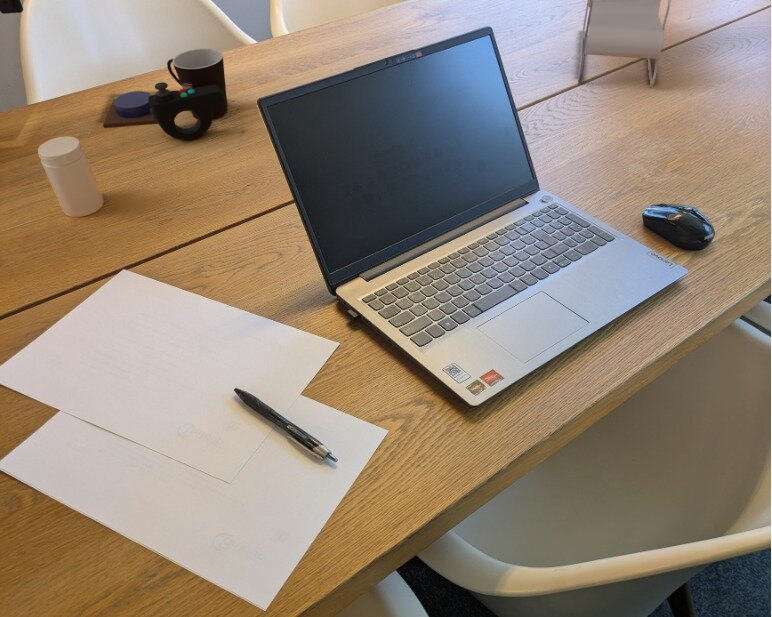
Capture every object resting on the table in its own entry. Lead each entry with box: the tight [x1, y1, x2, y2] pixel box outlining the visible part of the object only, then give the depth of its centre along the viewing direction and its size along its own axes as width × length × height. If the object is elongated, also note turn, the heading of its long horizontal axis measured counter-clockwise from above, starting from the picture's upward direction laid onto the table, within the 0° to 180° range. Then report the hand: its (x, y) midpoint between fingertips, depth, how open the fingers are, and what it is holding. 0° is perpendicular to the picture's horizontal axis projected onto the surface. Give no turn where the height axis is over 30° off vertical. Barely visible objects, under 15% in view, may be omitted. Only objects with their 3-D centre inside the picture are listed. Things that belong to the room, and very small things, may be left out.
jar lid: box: [113, 90, 152, 118], centre depth 121 cm, size 7×7×2 cm
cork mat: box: [102, 98, 158, 128], centre depth 122 cm, size 10×10×1 cm
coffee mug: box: [166, 48, 229, 121], centre depth 118 cm, size 12×9×10 cm
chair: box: [577, 0, 672, 88], centre depth 124 cm, size 13×25×20 cm, turn 166°
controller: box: [148, 81, 224, 141], centre depth 111 cm, size 4×12×10 cm, turn 111°
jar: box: [37, 136, 105, 218], centre depth 97 cm, size 6×6×10 cm
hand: (22, 1), depth 102 cm, fingers open, 9 cm apart
